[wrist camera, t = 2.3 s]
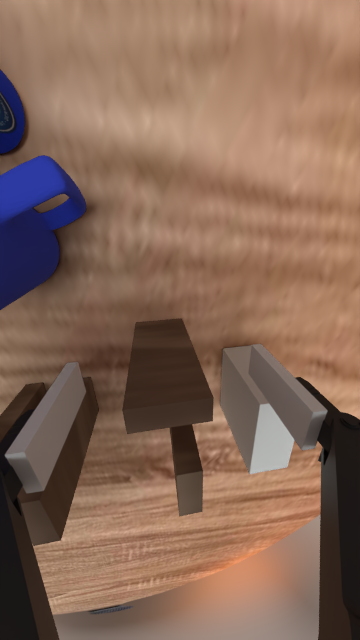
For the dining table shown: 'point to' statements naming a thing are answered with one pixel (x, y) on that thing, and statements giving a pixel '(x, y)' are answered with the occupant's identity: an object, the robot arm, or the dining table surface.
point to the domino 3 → (165, 379)
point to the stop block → (252, 415)
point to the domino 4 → (187, 469)
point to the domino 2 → (61, 477)
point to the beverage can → (10, 115)
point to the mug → (32, 224)
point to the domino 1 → (21, 406)
